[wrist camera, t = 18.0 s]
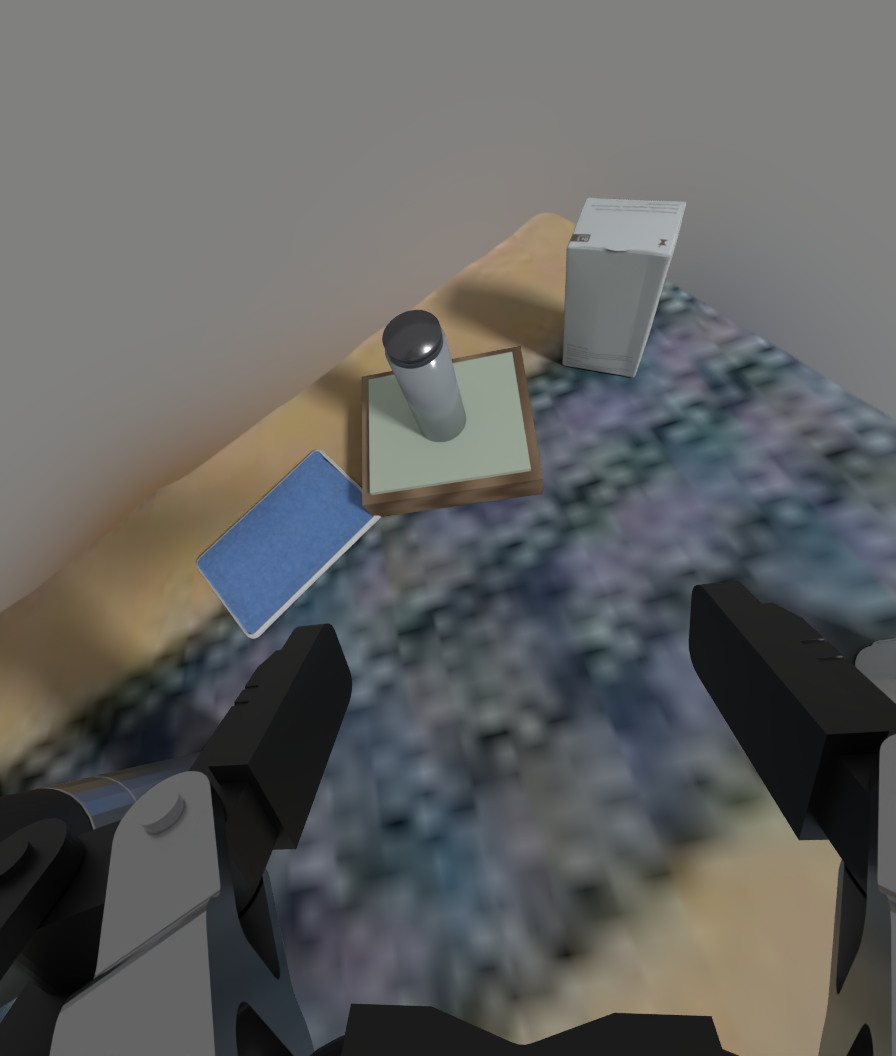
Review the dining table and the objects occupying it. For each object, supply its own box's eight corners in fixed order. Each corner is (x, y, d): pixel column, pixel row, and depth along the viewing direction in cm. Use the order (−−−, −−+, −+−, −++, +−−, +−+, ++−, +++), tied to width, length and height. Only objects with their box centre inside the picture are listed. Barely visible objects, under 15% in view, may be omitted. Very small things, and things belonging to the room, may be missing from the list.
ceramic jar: (419, 445, 43) (380, 365, 32) (418, 404, 45) (379, 315, 34) (468, 438, 42) (444, 353, 31) (464, 396, 44) (441, 302, 33)
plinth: (374, 517, 46) (360, 503, 42) (372, 396, 51) (360, 373, 48) (542, 493, 43) (543, 476, 39) (521, 368, 49) (520, 342, 45)
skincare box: (647, 338, 47) (695, 197, 33) (633, 382, 45) (677, 254, 32) (572, 326, 49) (588, 190, 36) (556, 367, 48) (566, 242, 34)
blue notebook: (321, 449, 51) (316, 444, 50) (388, 513, 46) (385, 509, 45) (199, 565, 49) (191, 562, 47) (257, 643, 44) (249, 642, 43)
